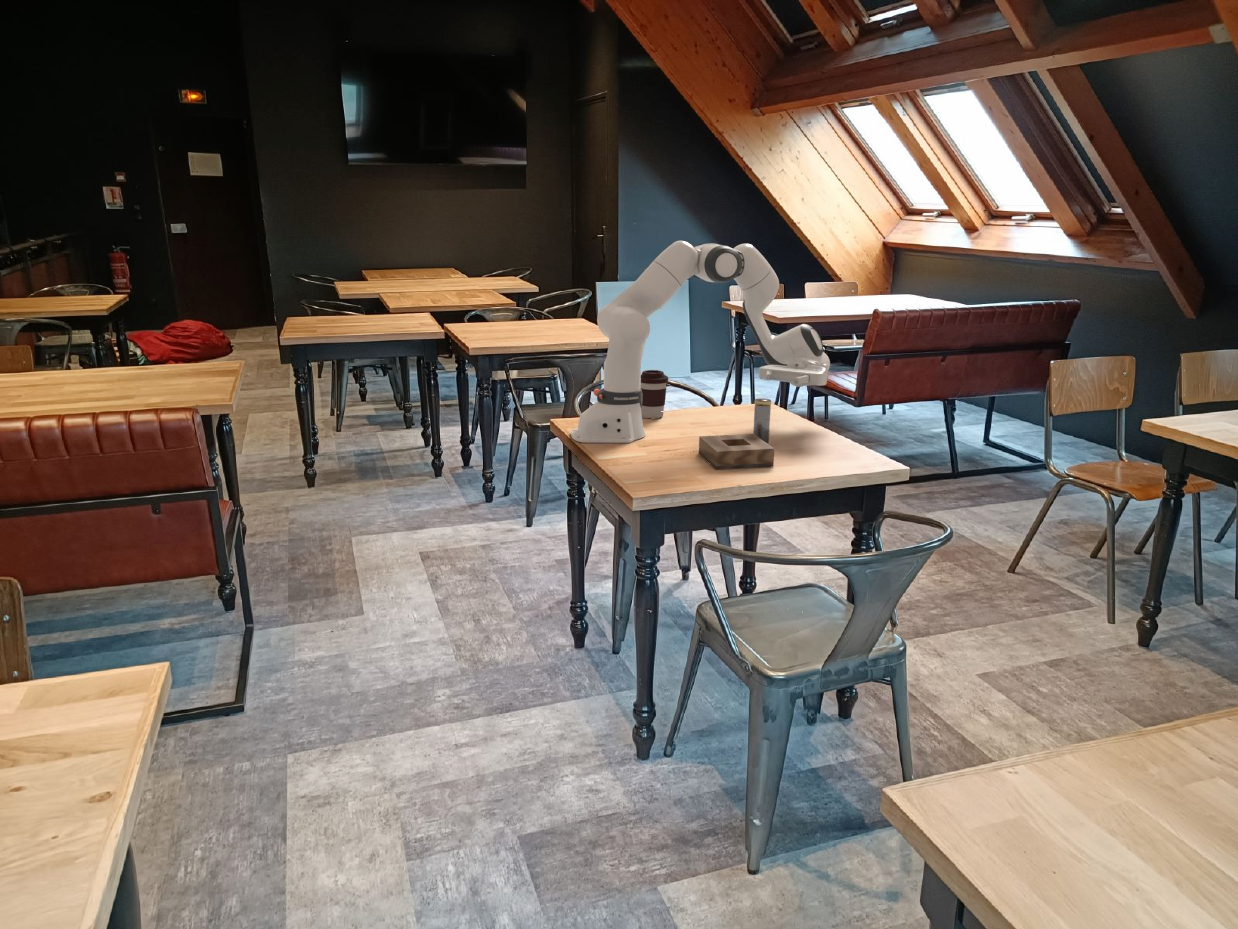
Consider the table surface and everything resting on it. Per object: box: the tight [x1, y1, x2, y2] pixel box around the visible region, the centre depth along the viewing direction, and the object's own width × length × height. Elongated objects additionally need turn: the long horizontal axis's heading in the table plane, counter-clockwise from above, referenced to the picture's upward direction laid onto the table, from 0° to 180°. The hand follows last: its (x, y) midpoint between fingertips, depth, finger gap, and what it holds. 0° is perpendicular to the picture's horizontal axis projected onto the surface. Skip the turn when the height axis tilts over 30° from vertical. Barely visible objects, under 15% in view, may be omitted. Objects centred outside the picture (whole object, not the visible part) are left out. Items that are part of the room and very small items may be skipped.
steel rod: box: [752, 397, 772, 445], centre depth 255 cm, size 5×5×14 cm
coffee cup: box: [641, 369, 669, 419], centre depth 291 cm, size 10×10×15 cm
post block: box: [698, 433, 775, 471], centre depth 244 cm, size 16×16×5 cm
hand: (782, 379), depth 261 cm, fingers open, 8 cm apart
